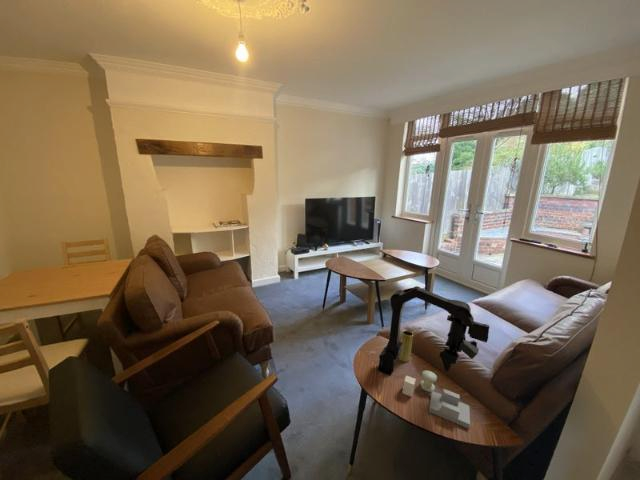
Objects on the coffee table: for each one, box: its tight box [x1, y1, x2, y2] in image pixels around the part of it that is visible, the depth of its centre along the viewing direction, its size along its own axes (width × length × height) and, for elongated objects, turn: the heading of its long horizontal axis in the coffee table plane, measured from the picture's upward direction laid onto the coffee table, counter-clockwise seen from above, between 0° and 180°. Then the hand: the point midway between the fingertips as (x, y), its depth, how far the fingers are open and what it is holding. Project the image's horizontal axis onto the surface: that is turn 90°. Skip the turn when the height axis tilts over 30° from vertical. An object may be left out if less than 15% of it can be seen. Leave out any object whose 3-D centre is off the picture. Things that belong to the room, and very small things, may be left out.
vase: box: [397, 330, 414, 363], centre depth 134 cm, size 6×6×14 cm
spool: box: [419, 370, 438, 393], centre depth 116 cm, size 6×6×6 cm
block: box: [401, 374, 417, 398], centre depth 112 cm, size 4×4×6 cm
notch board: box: [428, 388, 471, 430], centre depth 104 cm, size 14×10×5 cm
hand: (449, 365), depth 110 cm, fingers open, 9 cm apart
